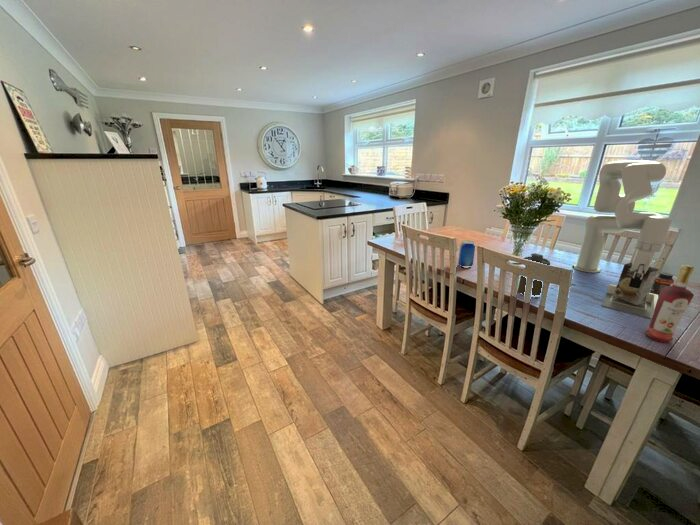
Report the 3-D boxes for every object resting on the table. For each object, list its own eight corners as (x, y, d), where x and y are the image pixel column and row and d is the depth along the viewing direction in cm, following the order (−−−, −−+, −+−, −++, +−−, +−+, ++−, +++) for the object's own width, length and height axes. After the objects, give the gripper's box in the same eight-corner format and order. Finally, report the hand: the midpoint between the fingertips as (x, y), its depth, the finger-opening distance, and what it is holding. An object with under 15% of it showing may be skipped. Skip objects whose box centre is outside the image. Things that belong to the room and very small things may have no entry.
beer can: (459, 268, 167) (462, 243, 162) (456, 264, 175) (459, 239, 169) (474, 269, 166) (477, 244, 160) (470, 264, 173) (473, 240, 168)
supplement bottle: (671, 299, 125) (681, 276, 121) (655, 298, 126) (664, 276, 122) (660, 293, 130) (669, 271, 126) (645, 292, 131) (653, 271, 127)
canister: (512, 291, 137) (519, 253, 130) (526, 287, 141) (534, 250, 134) (533, 300, 128) (542, 260, 121) (548, 295, 132) (557, 256, 125)
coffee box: (612, 296, 126) (623, 263, 120) (621, 293, 128) (632, 261, 122) (637, 305, 118) (650, 271, 112) (646, 302, 119) (659, 268, 114)
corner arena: (606, 292, 133) (609, 284, 131) (654, 303, 122) (658, 294, 120) (601, 306, 121) (604, 297, 120) (653, 319, 110) (658, 310, 109)
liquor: (650, 342, 97) (680, 269, 88) (638, 330, 104) (665, 261, 94) (677, 346, 95) (712, 271, 85) (664, 334, 101) (694, 263, 91)
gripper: (636, 240, 122) (624, 275, 128) (634, 249, 111) (620, 287, 117) (661, 243, 117) (647, 280, 123) (661, 253, 106) (646, 293, 112)
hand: (634, 283), depth 120 cm, fingers closed on coffee box, 8 cm apart
